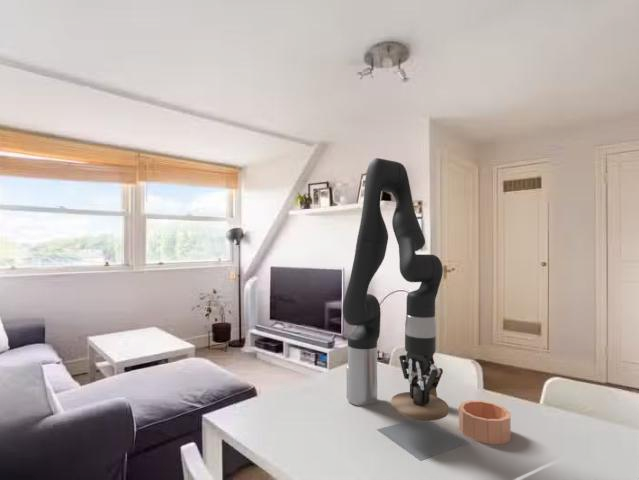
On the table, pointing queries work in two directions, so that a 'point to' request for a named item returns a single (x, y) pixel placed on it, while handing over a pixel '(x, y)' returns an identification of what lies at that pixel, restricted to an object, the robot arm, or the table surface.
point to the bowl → (485, 422)
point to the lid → (419, 406)
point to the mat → (422, 438)
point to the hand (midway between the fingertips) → (419, 400)
